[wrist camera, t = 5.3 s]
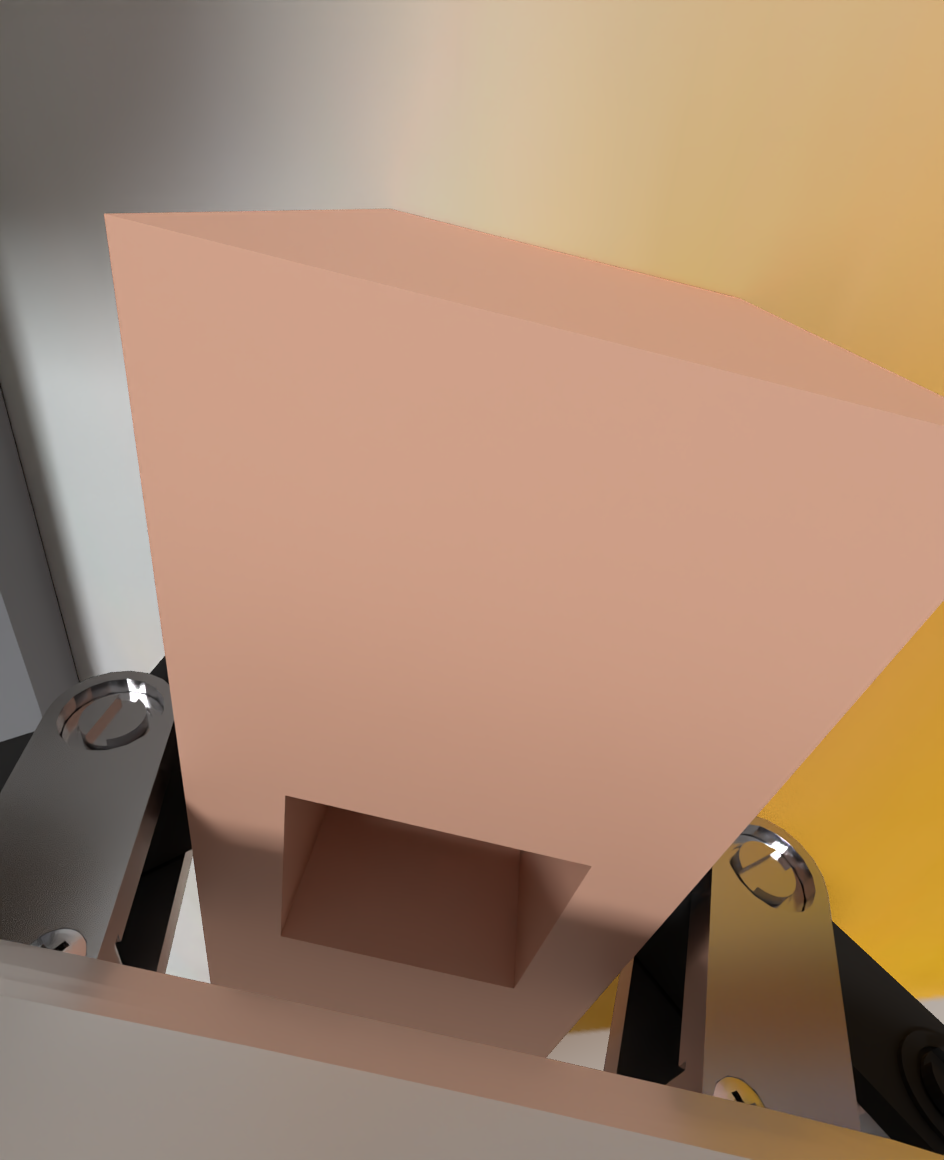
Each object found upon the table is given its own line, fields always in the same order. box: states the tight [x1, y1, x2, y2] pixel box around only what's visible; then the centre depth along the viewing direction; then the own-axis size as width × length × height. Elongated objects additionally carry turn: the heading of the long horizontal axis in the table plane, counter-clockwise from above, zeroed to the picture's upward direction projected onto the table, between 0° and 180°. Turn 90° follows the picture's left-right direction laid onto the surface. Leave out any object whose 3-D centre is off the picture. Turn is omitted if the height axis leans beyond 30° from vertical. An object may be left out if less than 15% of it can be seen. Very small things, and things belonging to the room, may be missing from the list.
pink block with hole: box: [104, 209, 944, 1058], centre depth 9 cm, size 12×5×6 cm, turn 168°
